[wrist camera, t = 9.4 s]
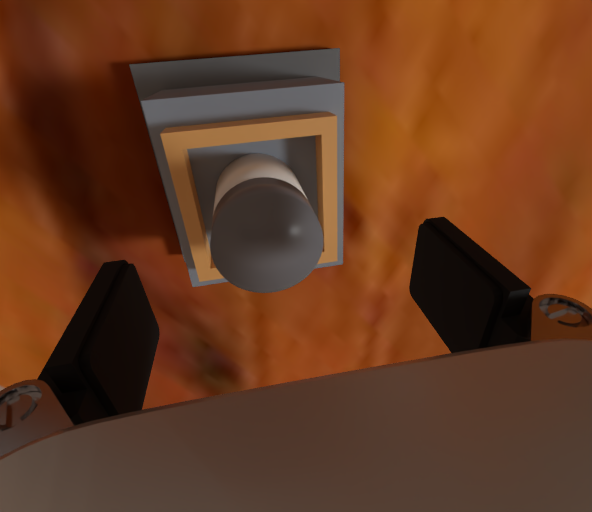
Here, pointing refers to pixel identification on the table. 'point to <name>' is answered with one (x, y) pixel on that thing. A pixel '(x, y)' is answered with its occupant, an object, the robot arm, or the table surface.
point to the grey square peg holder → (245, 136)
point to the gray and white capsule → (263, 226)
